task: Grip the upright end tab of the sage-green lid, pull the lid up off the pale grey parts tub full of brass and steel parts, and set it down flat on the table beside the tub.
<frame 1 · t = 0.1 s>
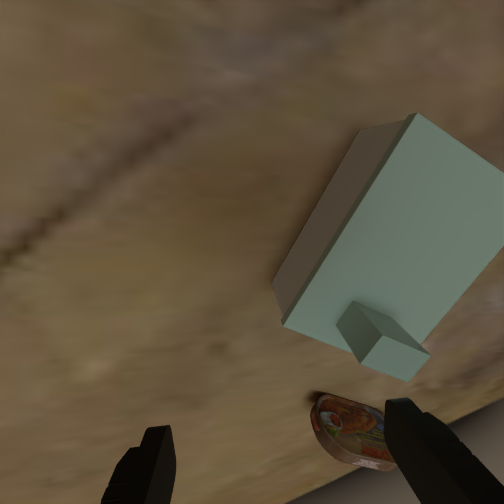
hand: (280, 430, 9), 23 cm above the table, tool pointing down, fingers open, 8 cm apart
parts tub: (358, 237, 31), on the table
lid: (398, 262, 24), point 8 cm above the table, touching parts tub
tin: (344, 405, 42), on the table
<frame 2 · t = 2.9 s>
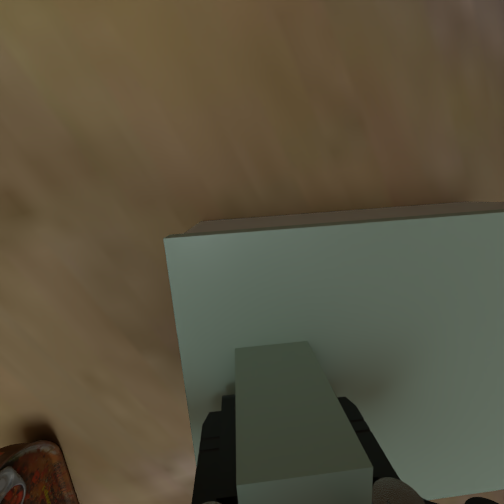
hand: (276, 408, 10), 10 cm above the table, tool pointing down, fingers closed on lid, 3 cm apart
parts tub: (337, 300, 20), on the table
lid: (404, 365, 12), point 8 cm above the table, touching gripper, parts tub
tin: (57, 484, 22), on the table
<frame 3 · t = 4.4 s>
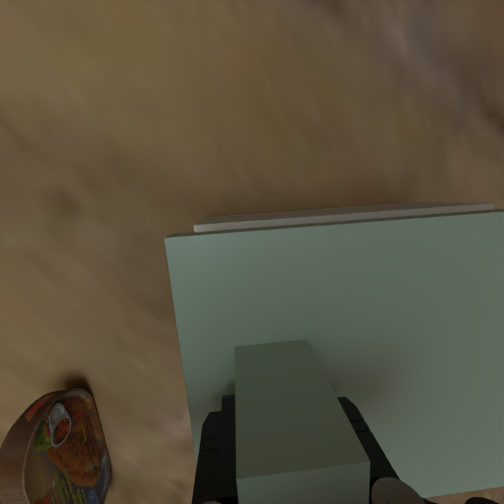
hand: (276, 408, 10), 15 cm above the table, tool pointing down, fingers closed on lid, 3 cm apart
parts tub: (312, 278, 26), on the table
lid: (402, 363, 12), point 14 cm above the table, touching gripper
tin: (89, 429, 27), on the table
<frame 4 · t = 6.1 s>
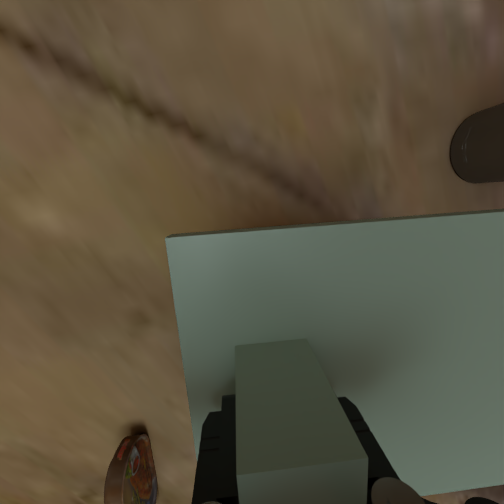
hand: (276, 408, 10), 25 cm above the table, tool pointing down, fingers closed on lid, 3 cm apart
lid: (401, 362, 12), point 23 cm above the table, touching gripper
tin: (143, 459, 40), on the table
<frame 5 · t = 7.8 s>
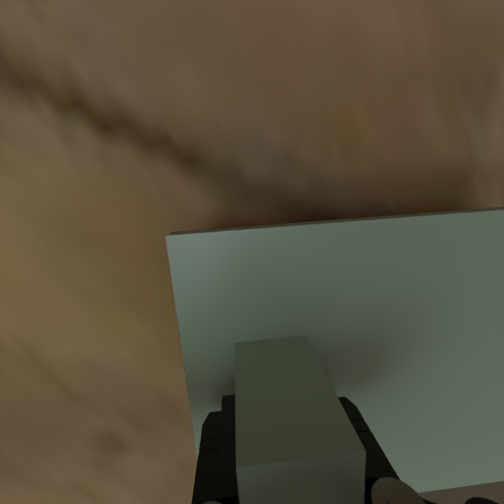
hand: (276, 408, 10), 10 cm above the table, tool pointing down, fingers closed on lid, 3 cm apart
parts tub: (355, 489, 25), on the table
lid: (399, 360, 12), point 8 cm above the table, touching gripper
when the fingers open (5 cm above the table, at t = 9.3 s): lid drops 1 cm, point 1 cm above the table.
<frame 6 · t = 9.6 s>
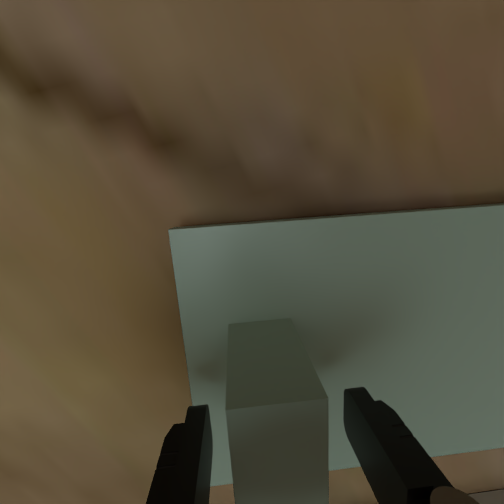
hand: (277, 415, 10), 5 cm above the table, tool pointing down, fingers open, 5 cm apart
lid: (376, 342, 14), point 1 cm above the table
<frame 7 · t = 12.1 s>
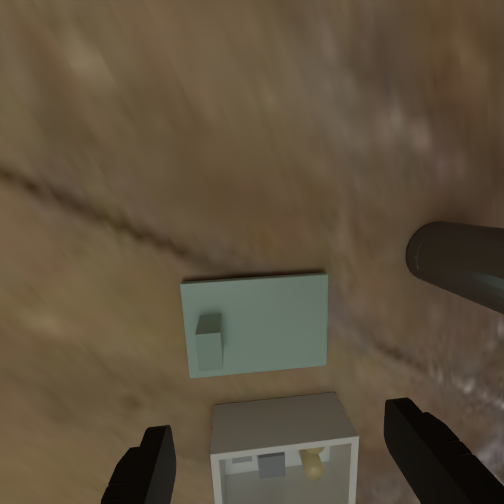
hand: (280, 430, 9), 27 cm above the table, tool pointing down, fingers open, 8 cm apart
parts tub: (276, 433, 43), on the table
lid: (257, 324, 37), point 1 cm above the table
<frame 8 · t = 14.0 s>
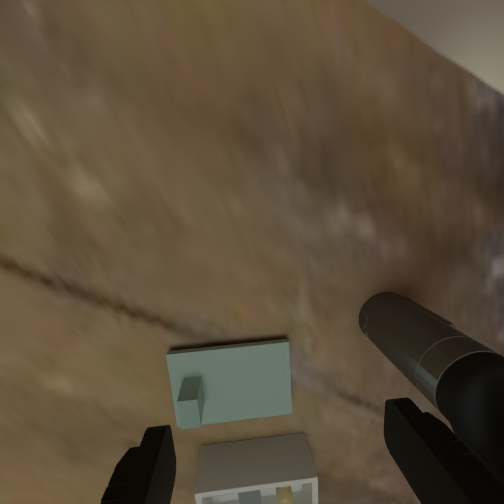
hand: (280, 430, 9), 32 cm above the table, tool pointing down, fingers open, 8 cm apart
parts tub: (255, 467, 50), on the table
lid: (232, 381, 44), point 1 cm above the table
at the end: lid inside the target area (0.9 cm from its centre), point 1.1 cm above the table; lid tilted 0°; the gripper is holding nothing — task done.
